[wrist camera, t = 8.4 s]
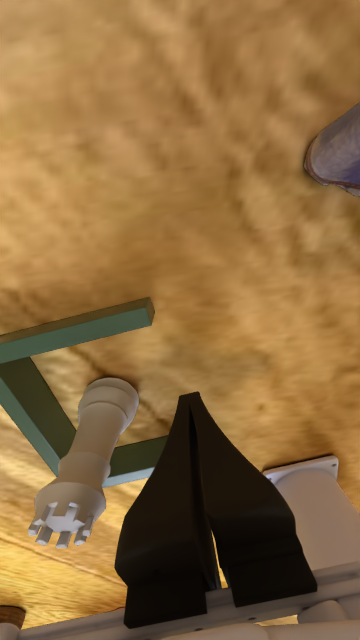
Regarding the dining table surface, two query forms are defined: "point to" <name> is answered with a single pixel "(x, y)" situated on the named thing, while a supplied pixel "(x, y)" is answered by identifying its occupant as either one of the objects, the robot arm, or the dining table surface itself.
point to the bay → (41, 406)
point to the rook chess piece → (85, 464)
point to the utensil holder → (12, 616)
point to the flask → (337, 153)
